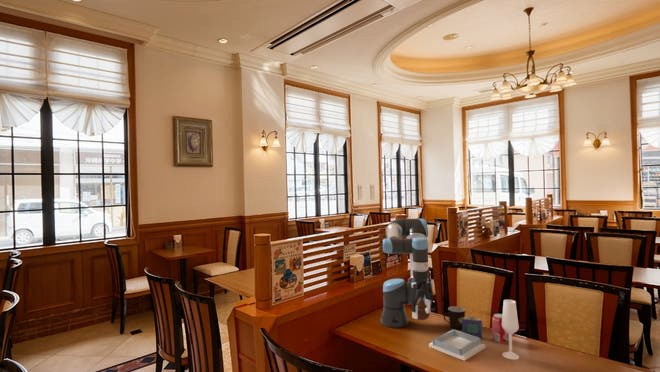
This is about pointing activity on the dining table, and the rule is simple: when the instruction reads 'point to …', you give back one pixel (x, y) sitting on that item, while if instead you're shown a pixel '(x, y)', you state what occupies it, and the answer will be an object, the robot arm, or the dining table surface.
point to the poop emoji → (422, 309)
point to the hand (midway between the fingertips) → (421, 315)
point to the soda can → (498, 329)
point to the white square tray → (458, 344)
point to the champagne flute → (510, 325)
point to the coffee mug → (455, 317)
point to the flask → (472, 326)
